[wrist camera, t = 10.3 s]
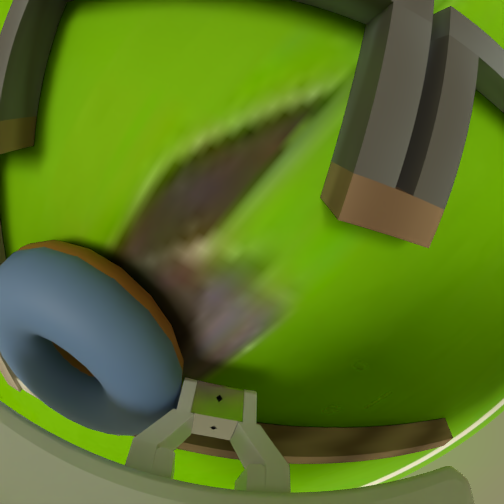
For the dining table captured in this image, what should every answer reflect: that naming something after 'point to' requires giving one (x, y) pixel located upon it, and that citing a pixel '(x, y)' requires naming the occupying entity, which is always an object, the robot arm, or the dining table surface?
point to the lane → (333, 160)
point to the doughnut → (87, 338)
